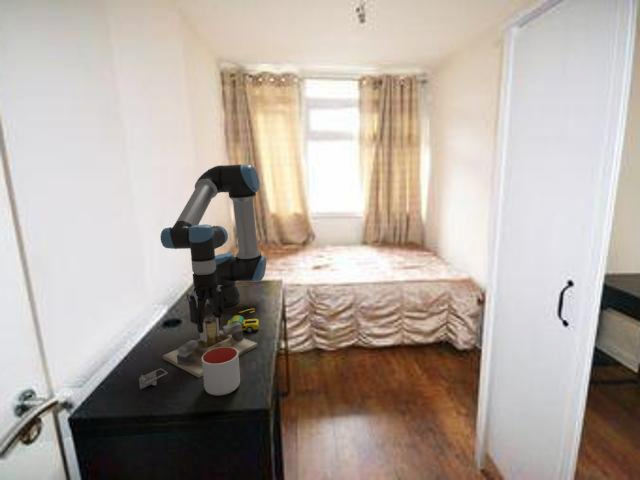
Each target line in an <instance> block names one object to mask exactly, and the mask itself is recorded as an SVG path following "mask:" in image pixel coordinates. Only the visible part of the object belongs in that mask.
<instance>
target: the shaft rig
mask: <svg viewBox="0 0 640 480" xmlns="http://www.w3.org/2000/svg"><path fill="white" fill-rule="evenodd" d="M219 335H220V336H217V344H215V345H213V346H211V347H205V346H204V341H201V340H200V338H198V339H197V340H192V339H191V340H190V341H187V342H186V343H184V344H183V345H181V346H179V347H178V348H177V349H174V350H172V351H170V352H168V353H165V354H163V355H162V359H163V360H164V361H167V362H168V363H170V364H172V365H174V366H176V367H178V368H179V369H182V370H184V371H185V372H187V373H190V375H193V376H194V377H197V378H202V377H203V368H202V356H203V355H204V354H205V353H206V352H208V351H209V350H212V349H215V348H219V347H231V348H234V349H236V350H237V351H238V357H240V356H242V355H244V354H245V353H247V352H249V351H251V350H253V349H255V348H257V347H258V343H257V342H255V341H253V340H250V339H246V338H244V332H243V330H242V327H241V324H240V323H239V322H237V323H233V324H230V325H227V324H226V325H224V326H222V329H219Z"/></svg>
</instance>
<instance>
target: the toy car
mask: <svg viewBox="0 0 640 480" xmlns="http://www.w3.org/2000/svg"><path fill="white" fill-rule="evenodd" d="M251 310H252V311H251ZM255 310H256V309H255V308H253V307H252V308H250V309H245V310H242V311H239V312H238V313H244V312H246V311H249V314H252V313H254V312H255ZM237 322H239V323H240V324H241V327H242V331H246V333H249V332H251V333H253V331H255V330H258V329H259V328H260V327H259V326H260V321H259V319H257V318H251V319H246V316H242V315H239V314H237V315H234V316H233V317H230V319H229V320H228V321H227V324H226V325H230V324H233V323H237ZM249 334H250V333H249Z"/></svg>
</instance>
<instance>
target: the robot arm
mask: <svg viewBox="0 0 640 480" xmlns="http://www.w3.org/2000/svg"><path fill="white" fill-rule="evenodd" d="M259 179H260V178H259V176H258V172H257V170H256V168H255V167H254V166H253V165H250V164H231V165H230V164H228V165H222V164H221V165H217V166H213V167H211V168H209V169H208V170H206V171H205V172H204V173H202V174H201V175H200V176H199V177H198V178H197V180H196V182H195V184H194V190H193V192H192V194H191V196H190V197H189V199H188V201H187V202H186V205H185V206H184V208H183V210H182V211H181V213H180V214H179V216H178V218H177V219H176V221H175V223H174V224H173V226H172V227H171V226H170V227H165V228H163V229H162V231H161V232H160V243H161V244H162V246H163V248H165V249H171V250H172V249H174V250H178V249H179V250H185V249H187V250H188V249H189V250H190V256H191V257H190V261H191V270H192V282H193V285H194V289H193V292H192V293H191V294H187V295H186V299H187V301H188V305H189V307H188V308H189V316H190V322H191V323H193V324H195V325H196V326H197V327H196V329H197V333H199V339H200V340H201V341H204V342H207V333H206V323H204V322H203V321H204V319H205V311H206V303H207V304H208V306H210V309H211V312H212V315H213V316H211V318H214V320H215V321H216V334H217V336H220V335H219V331H220V326H221V318H222V315H223V314H225V308H227V307H231V306H234V305H237V304H239V303H240V302H241V295H240V292H239V290H238V288H237V285H236V282H261V281H262V280H263V278H264V276H265V274H266V268H267V258H266V256H264V255H263V256H262V251H260V250H259V248H258V242H257V241H258V240H257V239H258V238H257V229H256V220H255V208H254V200H253V199H254V198H255V197H256V195H257V192H258V191H259V190H260V180H259ZM220 193H228V197H229V199H231V200H232V204H233V212H234V219H235V220H234V221H235V229H236V238H237V246H238V248H237V249H238V252H237V253H236V254H235V255H234V253H232V252H228V253H227V252H226V253H220V254H216V251H215V250H216V249H219V248H221V247H223V245H224V244H226V243H227V241H228V239H229V238H228V237H229V234H228V232H227V230H226V228H224V226H221V225H213V226H212V225H211V224H200V222H202V221H201V220H202V219H203V217H204V215H205V213H206V211H207V209H208V208H209V206H210V203H211V201H212V199H214V198H215V197H217V194H220Z"/></svg>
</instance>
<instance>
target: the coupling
mask: <svg viewBox="0 0 640 480" xmlns="http://www.w3.org/2000/svg"><path fill="white" fill-rule="evenodd" d="M203 322H204V323H206V333H207V342H204V346H205V347H211V346H213V345H215V344H217V334H216V321H215V320H214V318H207V317H204V321H203Z"/></svg>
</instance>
